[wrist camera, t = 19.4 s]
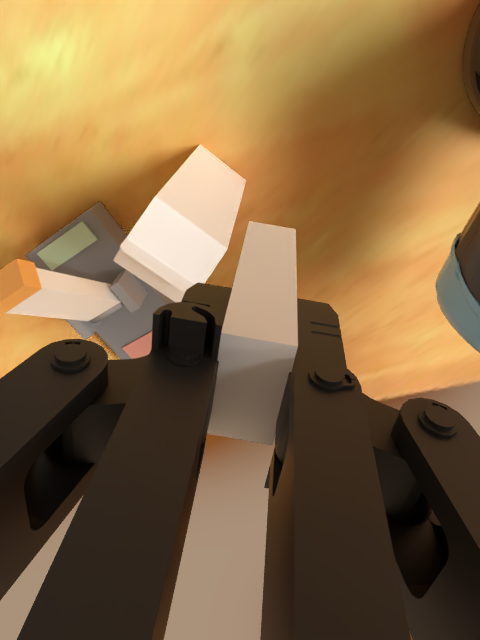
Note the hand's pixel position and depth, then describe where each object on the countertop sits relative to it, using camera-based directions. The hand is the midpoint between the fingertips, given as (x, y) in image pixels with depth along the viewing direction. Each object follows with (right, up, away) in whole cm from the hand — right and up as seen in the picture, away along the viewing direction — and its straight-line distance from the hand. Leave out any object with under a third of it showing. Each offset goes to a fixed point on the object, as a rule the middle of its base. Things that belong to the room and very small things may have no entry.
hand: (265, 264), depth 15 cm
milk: (-4, +13, +33) cm, 36 cm away
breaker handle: (-15, 0, +37) cm, 40 cm away
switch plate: (-15, +2, +40) cm, 43 cm away
